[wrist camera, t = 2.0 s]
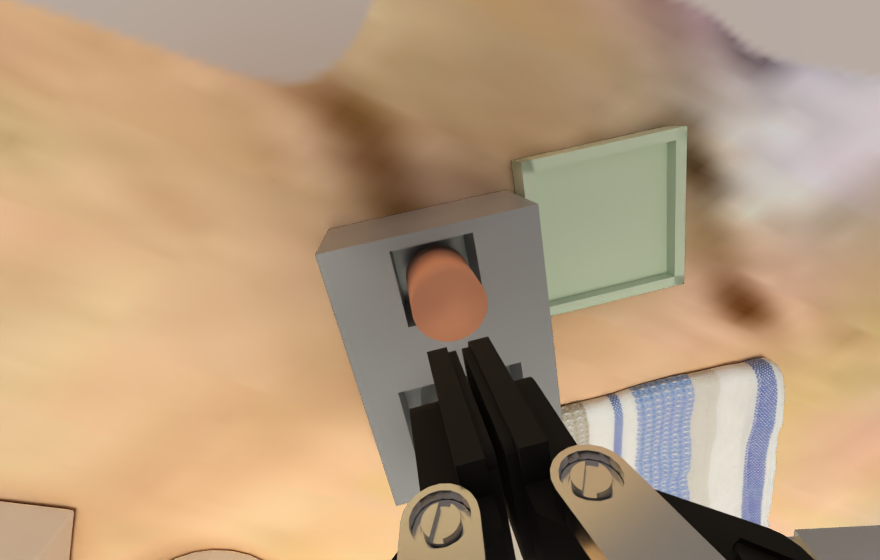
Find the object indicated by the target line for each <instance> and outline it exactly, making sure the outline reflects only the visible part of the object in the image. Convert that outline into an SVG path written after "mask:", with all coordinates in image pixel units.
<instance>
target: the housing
mask: <svg viewBox="0 0 880 560" xmlns="http://www.w3.org/2000/svg"><path fill="white" fill-rule="evenodd" d="M434 245H443V246H448V247H450V248H453V249H454V250H456V251H457V252H459V253H460V254H461V255H462V257H463V258H464V259H465V261H466V262H467V264H468V265H469V267H470V268H471V270H472V271H473V273H474V274H475V276H476V277H477V279H478V280H479V282H480V283H481V285H482V286H483V288H484V290H485V292H486V295H487V301H488V308H487V313H486V316H485V318H484V320H483V322H482V324H481V325H480V326H479V327H478V329H477V330H476V331H474V332H473V333H472V334H471V335H469V336H467V337H465V338H463V339H460V340H457V341H451V342H443V341H437V340H434V339H432V338H430V337H428V336H426V335H425V334H424V333H422V332H421V331H420V330H419V328H418V327H417V325H416V324H415V322H414V319H413V316H412V310H411V304H410V299H409V293H408V288H407V282H406V271H407V267H408V264H409V262H410V261H411V259H412V258H413V257H414V255H415V254H417V253H418V252H419V251H421V250H422V249H424V248H426V247H429V246H434ZM315 256H316V259H317V262H318V265H319V268H320V271H321V274H322V278H323V281H324V284H325V287H326V290H327V293H328V296H329V299H330V302H331V305H332V309H333V312H334V315H335V318H336V321H337V324H338V327H339V330H340V333H341V336H342V340H343V343H344V346H345V349H346V352H347V355H348V358H349V361H350V364H351V367H352V371H353V374H354V377H355V380H356V383H357V386H358V389H359V392H360V395H361V398H362V402H363V405H364V408H365V411H366V414H367V417H368V420H369V423H370V426H371V429H372V433H373V436H374V439H375V442H376V445H377V448H378V451H379V454H380V457H381V460H382V464H383V467H384V470H385V473H386V476H387V479H388V482H389V485H390V488H391V491H392V495H393V498H394V501H395V504H396V506H398V505H401V504H405V503H409V501H410V500H411V499H412V498H413V497H414V496H415V495H416V494H417V493H419V492H420V487H419V479H418V472H417V464H416V457H415V449H414V442H413V434H412V427H411V419H410V411H409V409H410V408H414V407H418V406H421V389H422V387H424V386H428V385H432V384H434V380H433V376H432V372H431V368H430V364H429V360H428V355H427V352H429V351H433V350H436V349H440V348H444V347H447V350H448V352H451V351H455V350H456V352H457V355H458V357H459V360H460V363H461V365H462V368H463V370H464V373H465V376H467V374H466V369H465V365H464V360H463V355H462V348H466V347H468V341H472V340H476V339H480V338H483V337H489V339H490V340H491V342H492V344H493V346H494V347H495V349H496V351H497V353H498V354H499V356H500V358H501V359H502V361H503V363H504V365H505V366H506V368H507V370H508V372H509V373H510V375H511V377H512V379H513V380H514V381H516V380H519V379H523V378H527V377H532V378H533V379H534V380H535V381H536V383H537V384H538V386H539V387H540V389H541V390H542V392H543V393H544V395H545V396H546V398H547V399H548V401H549V402H550V404H551V405H552V407H553V408H554V410H555V412H556V413H557V415H558V416H559V418H560V419H561V421H562V415H561V406H560V397H559V388H558V379H557V370H556V360H555V351H554V342H553V333H552V324H551V315H550V306H549V297H548V288H547V279H546V270H545V261H544V252H543V242H542V233H541V224H540V215H539V206H538V204H537V203H535V202H532V201H530V200H528V199H526V198H523V197H521V196H519V195H517V194H515V193H512V192H510V191H508V190H502V191H498V192H493V193H489V194H484V195H480V196H476V197H471V198H467V199H462V200H458V201H453V202H449V203H444V204H440V205H435V206H431V207H426V208H422V209H418V210H413V211H409V212H404V213H400V214H395V215H391V216H386V217H382V218H377V219H373V220H369V221H364V222H360V223H355V224H351V225H346V226H342V227H337V228H333V229H329V230H328V232H327V234H326V236H325V237H324V239H323V241H322V243H321V245H320V247H319V249H318V251H317V252H316V254H315Z"/></svg>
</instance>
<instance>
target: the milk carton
mask: <svg viewBox="0 0 880 560" xmlns="http://www.w3.org/2000/svg"><path fill="white" fill-rule="evenodd" d="M73 518H74V511H73V510H69V509H62V508H53V507H45V506H36V505H28V504H19V503H11V502H2V501H0V560H69V558H70V548H71V538H72V528H73Z"/></svg>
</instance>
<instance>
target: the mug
mask: <svg viewBox="0 0 880 560" xmlns="http://www.w3.org/2000/svg"><path fill="white" fill-rule="evenodd" d="M174 560H260V559H258V558H256V557H253V556H251V555H249V554H244V553H240V552H236V551H229V550H207V551H200V552H194V553H191V554H187V555H184V556H181V557H178V558H176V559H174Z"/></svg>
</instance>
